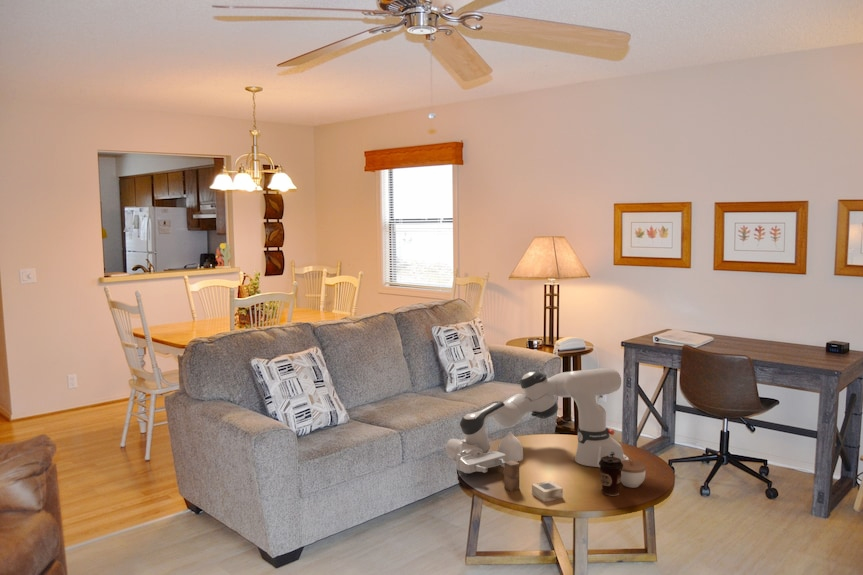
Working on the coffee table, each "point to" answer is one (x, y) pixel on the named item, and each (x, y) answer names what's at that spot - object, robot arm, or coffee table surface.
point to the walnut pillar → (511, 475)
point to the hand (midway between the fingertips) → (495, 467)
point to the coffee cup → (610, 475)
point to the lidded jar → (632, 473)
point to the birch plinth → (547, 491)
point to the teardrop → (511, 448)
